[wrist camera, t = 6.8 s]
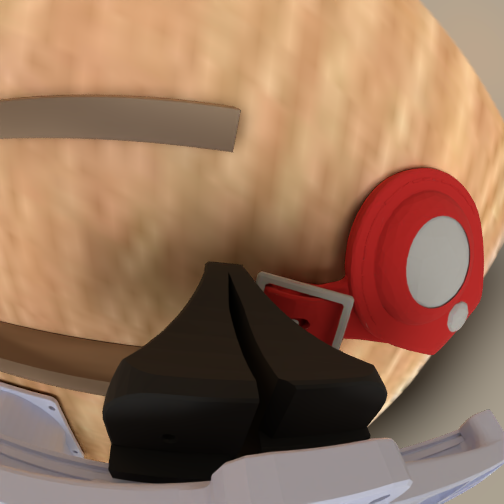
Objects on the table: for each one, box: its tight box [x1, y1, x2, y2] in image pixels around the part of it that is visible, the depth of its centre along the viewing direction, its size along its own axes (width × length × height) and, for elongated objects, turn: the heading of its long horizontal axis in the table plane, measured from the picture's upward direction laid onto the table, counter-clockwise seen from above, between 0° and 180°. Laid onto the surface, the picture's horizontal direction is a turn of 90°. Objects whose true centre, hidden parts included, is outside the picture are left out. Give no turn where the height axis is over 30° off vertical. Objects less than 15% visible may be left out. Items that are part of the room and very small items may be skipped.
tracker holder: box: [256, 168, 484, 355], centre depth 13 cm, size 12×4×10 cm
